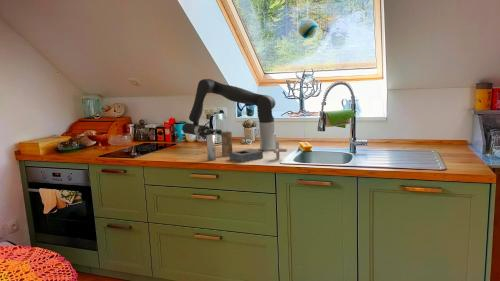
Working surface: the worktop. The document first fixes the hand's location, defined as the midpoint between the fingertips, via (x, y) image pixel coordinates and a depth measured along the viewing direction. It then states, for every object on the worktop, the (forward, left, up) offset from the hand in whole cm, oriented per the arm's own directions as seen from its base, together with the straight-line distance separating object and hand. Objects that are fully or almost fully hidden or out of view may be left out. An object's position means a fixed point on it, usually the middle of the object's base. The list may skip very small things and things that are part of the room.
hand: (215, 133), depth 232 cm
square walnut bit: (0, +11, -12) cm, 16 cm away
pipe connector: (-14, +40, -12) cm, 44 cm away
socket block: (-2, +27, -12) cm, 30 cm away
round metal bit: (+13, +15, -12) cm, 23 cm away
